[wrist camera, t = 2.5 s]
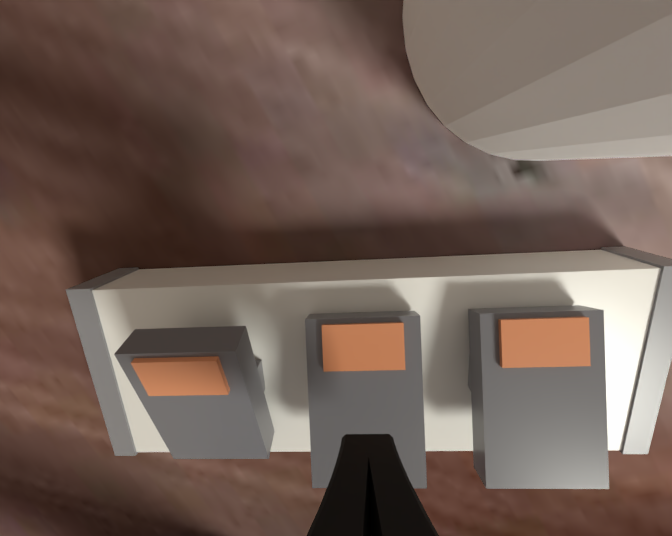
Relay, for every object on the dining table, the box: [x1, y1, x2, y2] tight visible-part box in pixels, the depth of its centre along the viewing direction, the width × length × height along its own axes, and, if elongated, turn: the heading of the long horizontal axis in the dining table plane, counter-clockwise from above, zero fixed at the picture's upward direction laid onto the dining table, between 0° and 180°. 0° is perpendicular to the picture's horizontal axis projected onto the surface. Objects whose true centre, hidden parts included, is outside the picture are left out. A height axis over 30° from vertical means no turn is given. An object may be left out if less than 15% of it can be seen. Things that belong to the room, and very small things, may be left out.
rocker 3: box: [468, 305, 609, 489], centre depth 12 cm, size 6×4×1 cm, turn 3°
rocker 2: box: [305, 311, 427, 488], centre depth 12 cm, size 6×4×1 cm, turn 4°
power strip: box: [66, 246, 672, 456], centre depth 15 cm, size 8×29×4 cm, turn 93°
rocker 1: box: [114, 326, 274, 459], centre depth 12 cm, size 6×4×1 cm, turn 3°
